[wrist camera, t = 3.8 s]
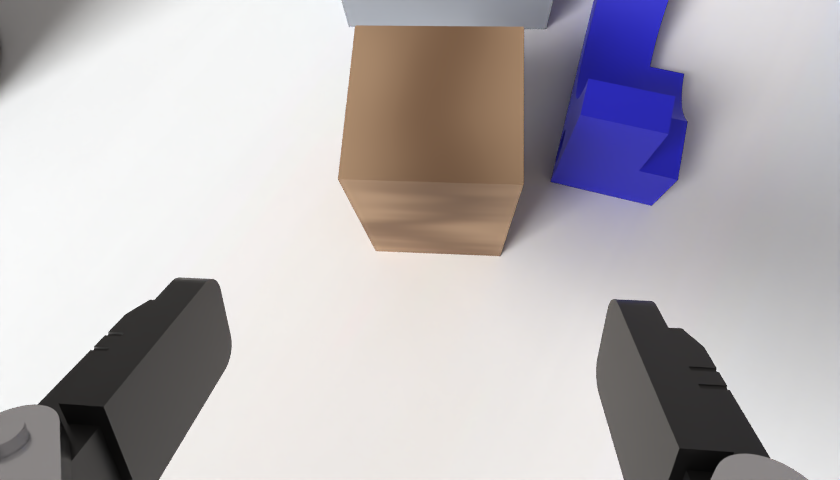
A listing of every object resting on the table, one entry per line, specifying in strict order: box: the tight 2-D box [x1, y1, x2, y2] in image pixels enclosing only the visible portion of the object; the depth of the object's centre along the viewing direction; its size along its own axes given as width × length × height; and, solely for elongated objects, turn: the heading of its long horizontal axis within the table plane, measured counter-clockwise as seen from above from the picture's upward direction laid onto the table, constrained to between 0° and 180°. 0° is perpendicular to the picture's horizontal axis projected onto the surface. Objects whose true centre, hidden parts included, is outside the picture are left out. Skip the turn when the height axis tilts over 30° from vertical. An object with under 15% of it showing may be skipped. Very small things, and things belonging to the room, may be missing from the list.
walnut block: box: [338, 25, 524, 256], centre depth 20 cm, size 6×6×8 cm
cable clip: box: [551, 0, 688, 206], centre depth 22 cm, size 12×4×6 cm, turn 164°
